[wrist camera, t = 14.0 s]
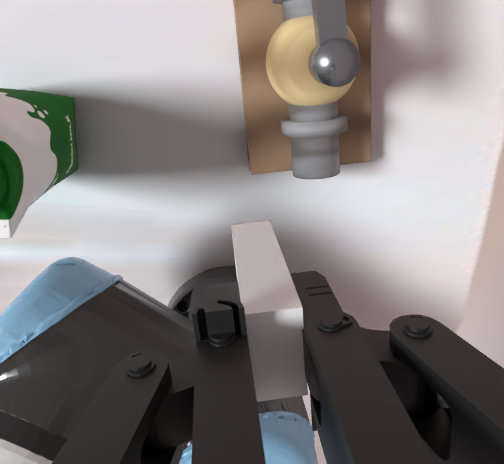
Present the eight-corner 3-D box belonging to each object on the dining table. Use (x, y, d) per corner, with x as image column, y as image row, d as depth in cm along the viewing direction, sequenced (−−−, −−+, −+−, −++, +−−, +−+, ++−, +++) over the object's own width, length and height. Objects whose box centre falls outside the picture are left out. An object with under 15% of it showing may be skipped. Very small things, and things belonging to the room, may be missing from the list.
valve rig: (364, 156, 48) (403, 182, 39) (249, 169, 48) (260, 199, 38) (363, -67, 41) (411, -104, 31) (228, -55, 41) (234, -89, 31)
